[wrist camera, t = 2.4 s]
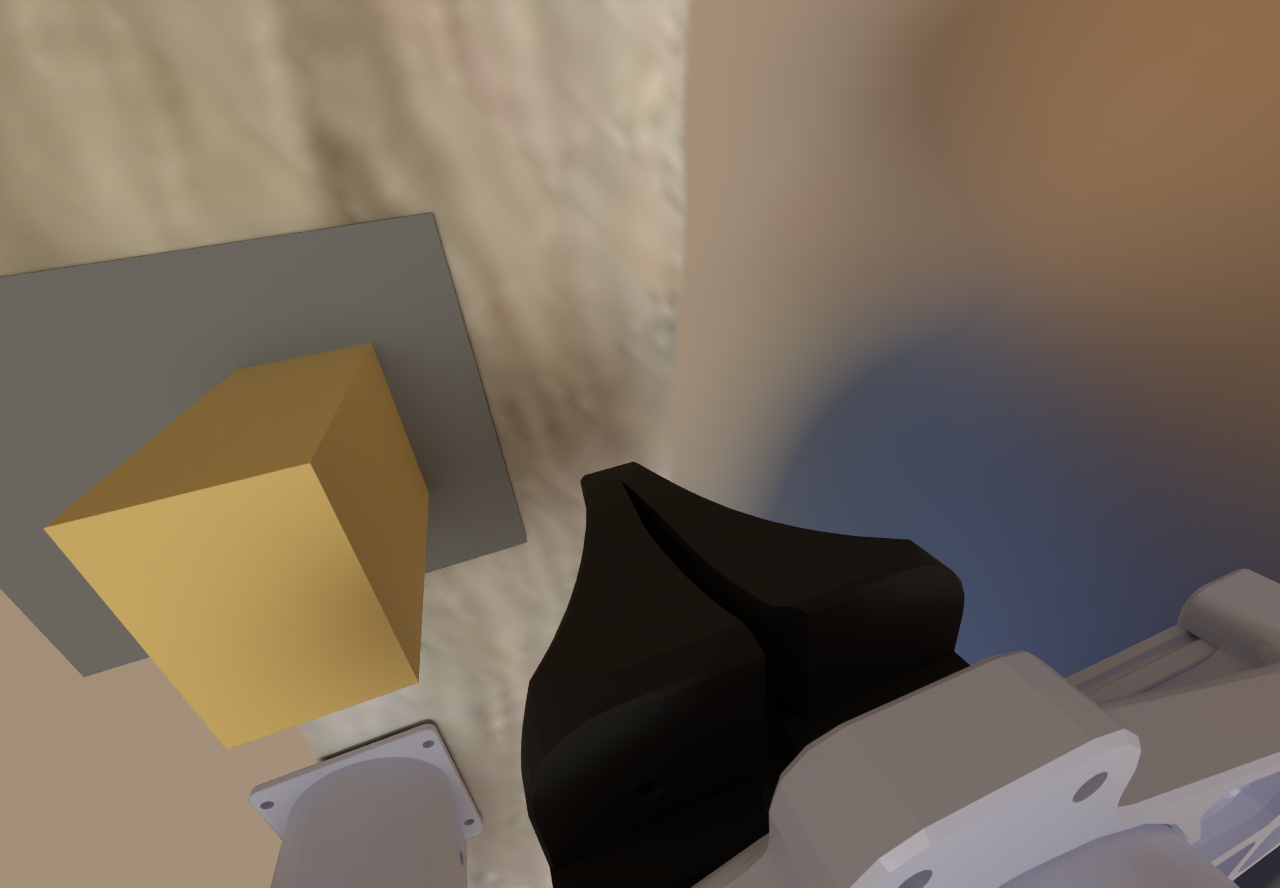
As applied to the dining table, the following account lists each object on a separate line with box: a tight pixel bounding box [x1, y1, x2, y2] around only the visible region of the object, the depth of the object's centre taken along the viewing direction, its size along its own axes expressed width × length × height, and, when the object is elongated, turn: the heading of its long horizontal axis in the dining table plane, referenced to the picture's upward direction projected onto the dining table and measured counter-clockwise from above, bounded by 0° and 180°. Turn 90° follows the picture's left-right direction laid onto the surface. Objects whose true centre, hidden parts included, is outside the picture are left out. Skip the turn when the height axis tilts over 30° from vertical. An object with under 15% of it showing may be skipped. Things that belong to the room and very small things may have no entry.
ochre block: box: [43, 343, 429, 749], centre depth 14 cm, size 6×4×9 cm, turn 7°
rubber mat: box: [0, 213, 527, 677], centre depth 17 cm, size 13×16×1 cm
